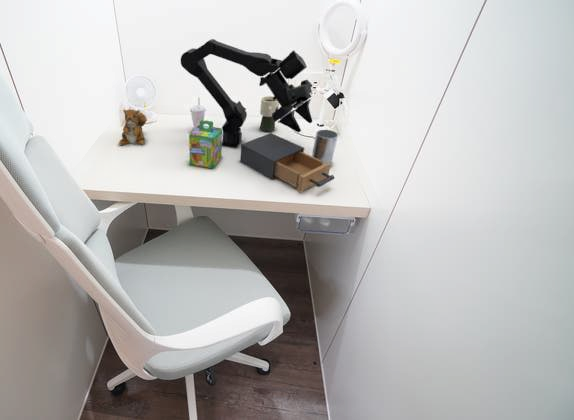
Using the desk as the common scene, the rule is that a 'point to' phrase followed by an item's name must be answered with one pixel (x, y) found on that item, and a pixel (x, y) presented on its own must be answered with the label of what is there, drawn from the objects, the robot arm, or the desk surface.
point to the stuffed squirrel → (133, 127)
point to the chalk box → (205, 145)
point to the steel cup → (324, 145)
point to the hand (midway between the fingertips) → (305, 127)
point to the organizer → (267, 153)
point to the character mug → (268, 113)
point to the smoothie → (197, 114)
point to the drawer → (303, 171)
